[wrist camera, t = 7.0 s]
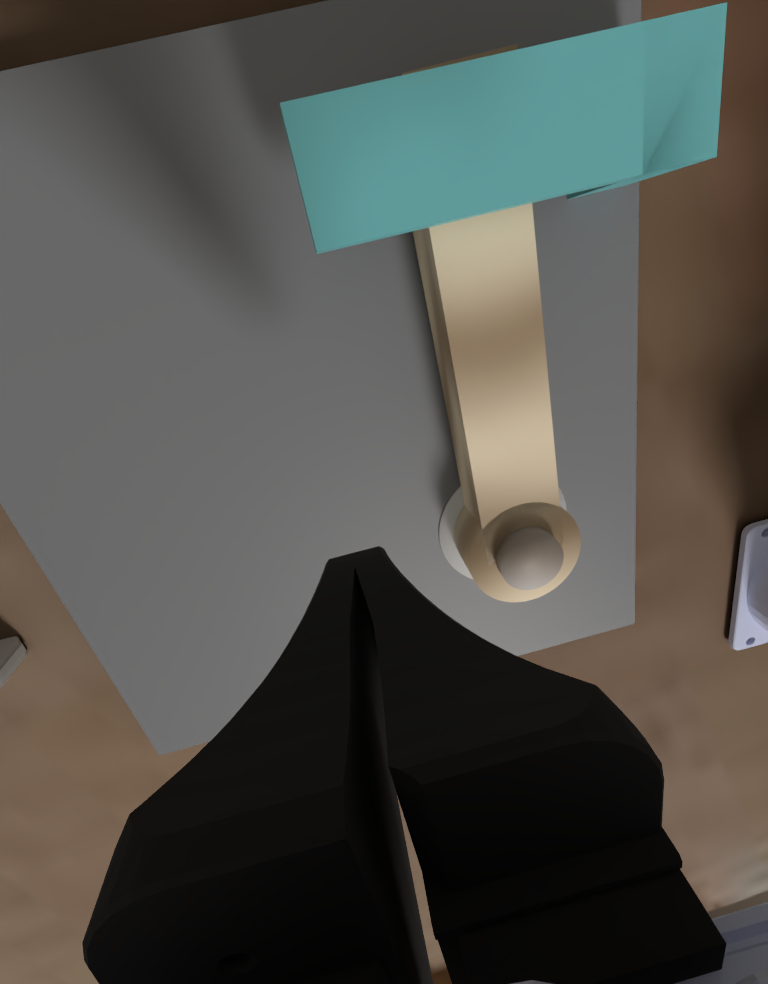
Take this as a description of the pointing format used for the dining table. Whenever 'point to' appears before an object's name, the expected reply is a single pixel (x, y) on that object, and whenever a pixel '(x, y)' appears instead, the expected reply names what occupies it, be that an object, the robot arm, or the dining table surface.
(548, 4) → the light grey baseplate
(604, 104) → the plate
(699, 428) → the dining table surface
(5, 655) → the cassette
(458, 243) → the beech link
